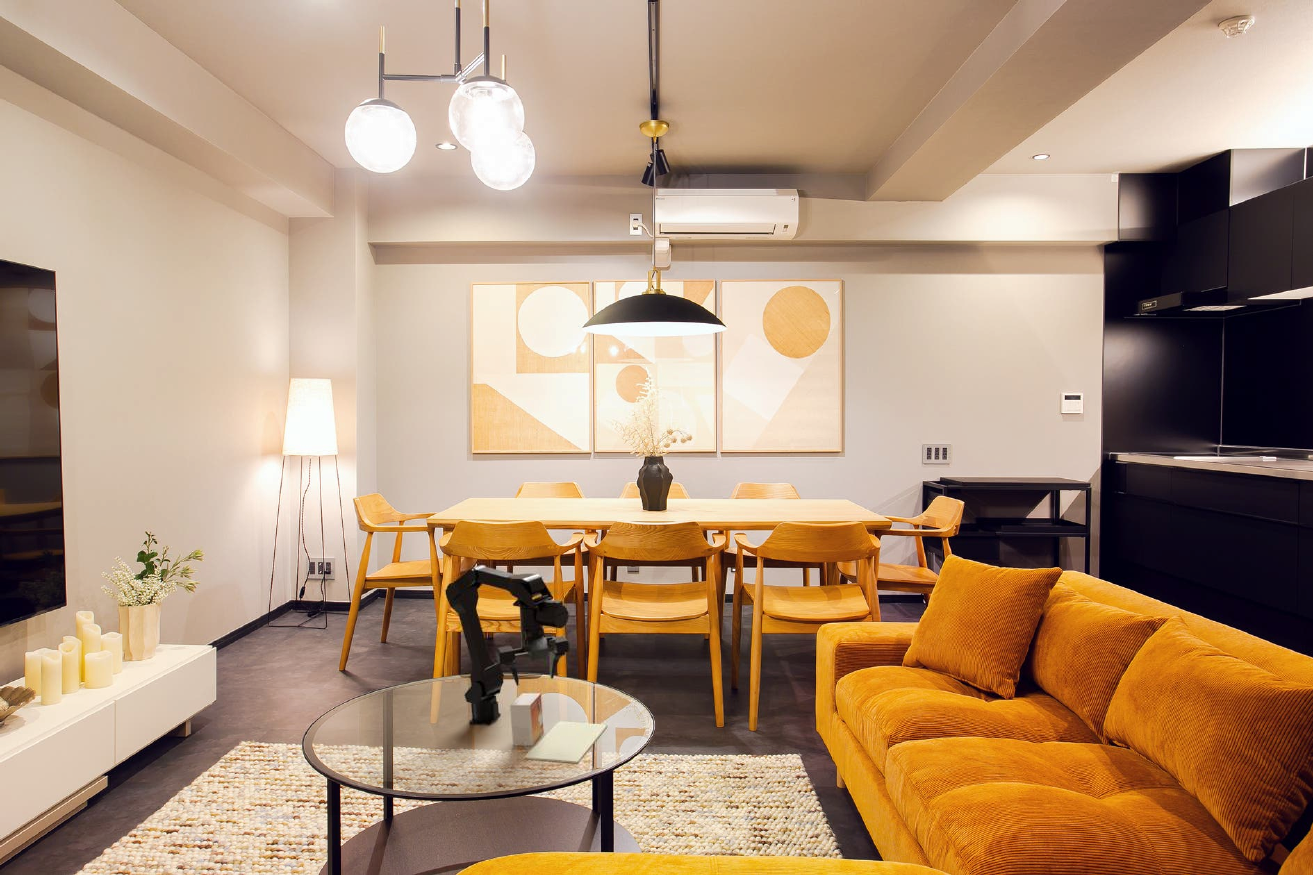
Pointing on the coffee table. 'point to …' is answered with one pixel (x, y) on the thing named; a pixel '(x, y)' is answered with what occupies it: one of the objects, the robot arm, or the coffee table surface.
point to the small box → (526, 719)
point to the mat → (567, 742)
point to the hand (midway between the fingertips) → (534, 681)
